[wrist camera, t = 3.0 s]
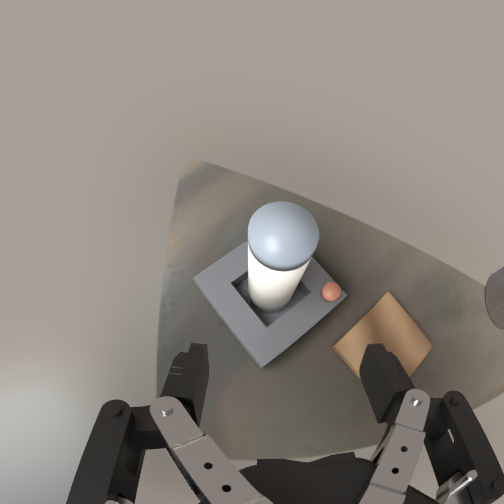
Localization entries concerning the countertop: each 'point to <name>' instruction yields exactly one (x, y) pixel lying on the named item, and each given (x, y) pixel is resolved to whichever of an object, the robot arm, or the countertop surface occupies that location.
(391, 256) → the countertop surface
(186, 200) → the countertop surface
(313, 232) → the ball
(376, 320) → the pad
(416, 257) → the countertop surface
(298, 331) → the block
